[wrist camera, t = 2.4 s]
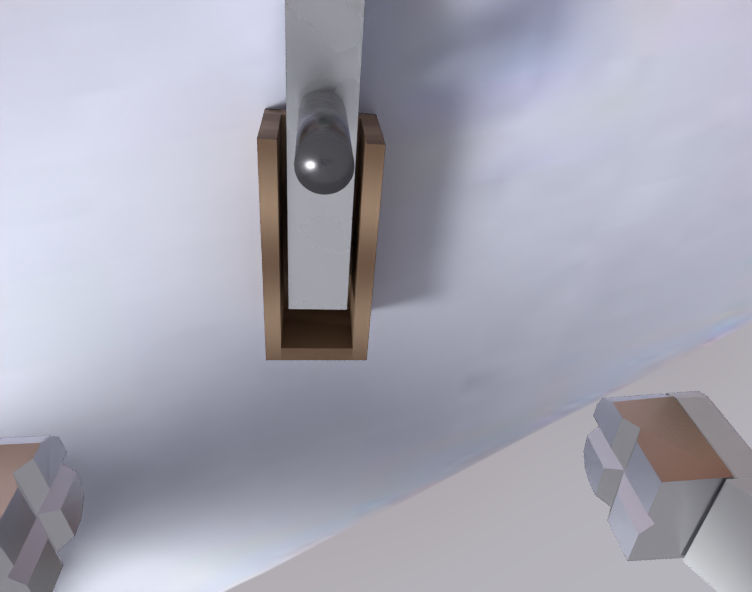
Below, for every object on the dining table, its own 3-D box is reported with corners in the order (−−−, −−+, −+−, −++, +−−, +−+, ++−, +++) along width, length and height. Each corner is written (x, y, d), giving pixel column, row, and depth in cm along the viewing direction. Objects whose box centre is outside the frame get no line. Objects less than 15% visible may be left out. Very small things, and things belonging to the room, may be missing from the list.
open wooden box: (360, 312, 34) (366, 360, 31) (271, 311, 34) (266, 360, 30) (376, 114, 28) (385, 144, 24) (264, 108, 27) (256, 138, 23)
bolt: (344, 279, 32) (353, 389, 24) (290, 278, 31) (283, 390, 24) (362, -54, 23) (384, -41, 15) (287, -60, 22) (274, -50, 15)
